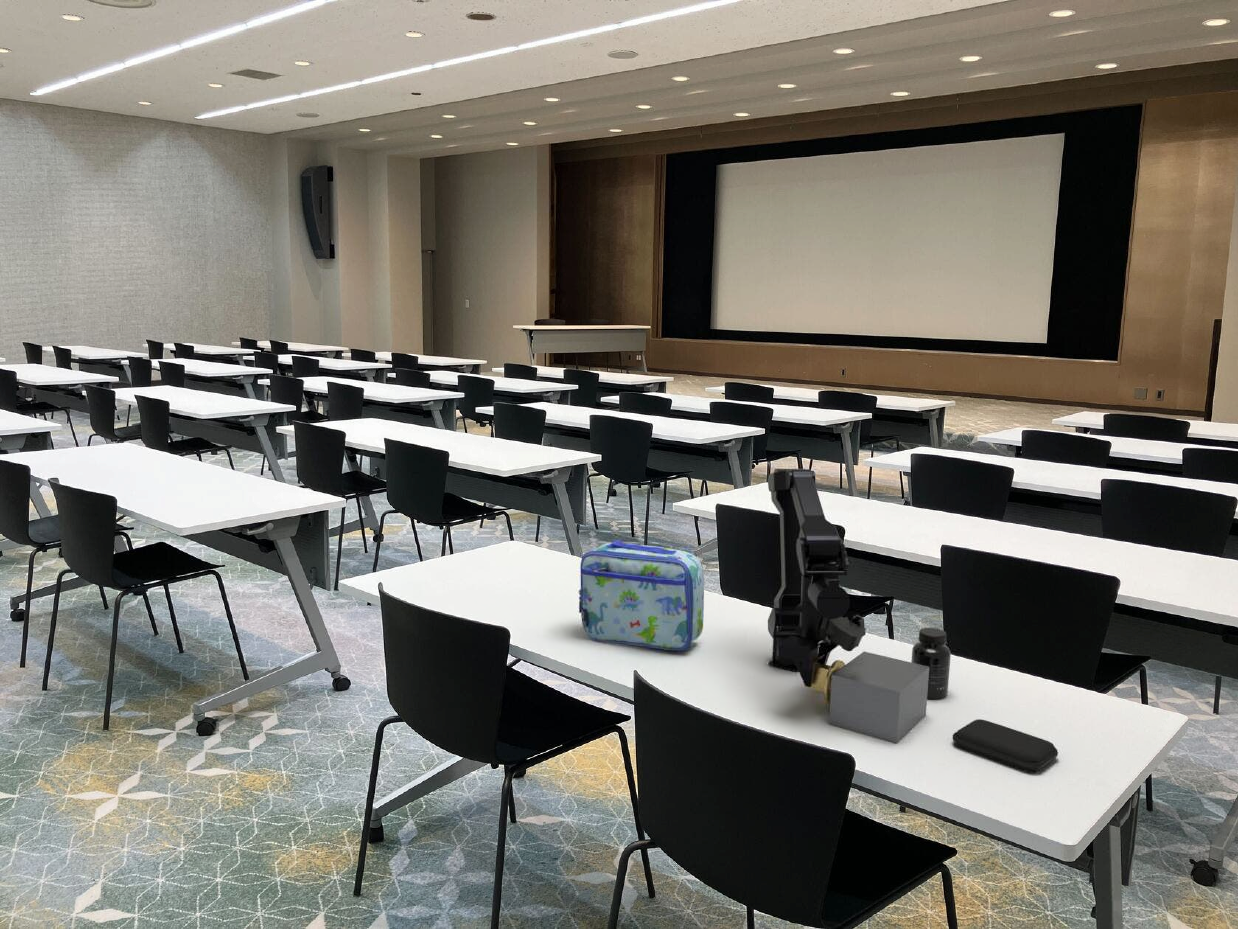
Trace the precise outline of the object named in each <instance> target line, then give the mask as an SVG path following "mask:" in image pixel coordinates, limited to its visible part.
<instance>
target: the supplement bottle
mask: <svg viewBox="0 0 1238 929" xmlns="http://www.w3.org/2000/svg"><path fill="white" fill-rule="evenodd" d="M918 632H919V633H918V642H916V643H915V644H914V645H913V647H912V650H911V661H910V662H911V663H915V664H920V665H924V666H928V667H929V678H928V692H927V700H931V701H932V700H942V699H944V698H946V697H947V695H948V691H949V690H948V689H949V683H950V682H949V680H950V671H951V670H950V668H951V667H950V666H951V656H952V654H951V650H950V648H949V647H948V646H947V645H946V644H947V632H946V631H944V630H943V629H940V628H936V627H922V628H921V629H919V631H918Z"/></svg>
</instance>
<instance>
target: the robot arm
mask: <svg viewBox="0 0 1238 929" xmlns="http://www.w3.org/2000/svg"><path fill="white" fill-rule="evenodd" d="M767 486H768V488H767V489H768V491H769V492H770V496H771V498H770V499H771V502H772V503H773V505H774V507H775V508H776V510H777V511H778V513H779V526H780V527H779V528H780V534H779V535H780V562H781V570H780V572H781V587H780V589H779V591H778V593H777V594H776V596H775V598H774V599H773V600H774V601H773V607H772V608H771V611H770V613H769V616H768V618H767V631H768V633H769V635H770V636H771V638H772V655H771V657H772V658H771V659H770V660H769V661H767V662H768V665H769V666H772V667H777V668H781V669H785V670H788V671H792V672H796V673H797V672H798V673H799V675H800V677H801V680H802V682H803V684H804V686H807V687H811V686H812V682H813V677H814V672H815V666H816V662H817V663H821V664H825V665H827V663H828V660H829V657H830V655H831V653H832V652H833V650H834V649H836V648H838V647H841V648H842V649H843V651H846V652H851V651H853V650H854V649H855V648H858V647H859V645H860V643H861V641H862V639H863V637H864V636H866V627H865V618H864V617H862V616H861V615H859V614H856V615H855V616H854V615H853V617H851V618H850V619H849V617H848V616H846V617H843V616H844V615H845V614H846V613H847V612H848V610H849V608H850V604H851V600H850V595H849V594H848V592H847V591H846V590H845V589H844V587H843V586H842V585H841V584H840V579H839V576H848V568H849V565H850V564H849V558H848V554H847V550H846V545H845V543H844V540H843V538H841V537H840V535H839V532H838V530H837V527H836V525H834V524H833V523H831V522H830V521H829V520H827V519H826V515H825V513H824V509H823V507H822V502H821V499H820V496H819V493H818V490H817V486H816V472H815V471H814V470H811V469H810V468H775V469H774V471H773V472H772V473H770V474H769V475H768V479H767ZM837 562H838V564H837Z"/></svg>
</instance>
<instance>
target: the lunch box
mask: <svg viewBox="0 0 1238 929" xmlns="http://www.w3.org/2000/svg"><path fill="white" fill-rule="evenodd" d="M579 567H580V568H579V569H580V589H579V590H578V594H579V596H578V600H579V602H578V613H579V614H580V615H581V616H580V617H581V622H582V627H583V629H584V631H585V633H586V635H587V637H588V638H589V639H591V640H592V641H594V642H606V643H607V642H608V643H617V644H623V645H624V644H625V645H630V646H638V647H644V648H650V649H652V648H653V649H658V650H665V651H675V652H676V651H677V652H682V651H685V650H687V649H688V648H689V647H690V645H691V644H692V643H693V642H694V641H695V640H697V639H699V637H700V636H701V634H702V633H703V630H704V612H705V611H704V609H705V608H704V607H705V604H704V602H705V601H704V600H705V591H704V590H705V588H704V586H705V572H704V567H703V564H702V563H701V561H700V559H699V558H698V557H697V556H696V555H694V554H692V553H690V552H688V551H684V550H681V549H680V550H679V549H675V548H670V547H662V546H654V545H643V544H633V543H624V542H623V541H621V540H618V539H616V540H615V541H613V542H607V543H604V544H602V545H600V546H598V547H596V548H595V549H593V550H590V551H588V552H585V553H584V554H583V555H582V557H581V560H580V566H579Z"/></svg>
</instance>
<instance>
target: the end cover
mask: <svg viewBox="0 0 1238 929" xmlns="http://www.w3.org/2000/svg"><path fill="white" fill-rule="evenodd" d="M844 665H846V664H845V661H843V660H840V659H836V660H835V661H833V662H832V664H831V665H829V664H826V665H825V664H821V663H817V662H816V666H815V672H814V677H813V682H812V686H811V687H807V686H805V685H804V686H805V688H807V689H810V690H813V691H818V692H822V693H823V699H824V703H825V705H826V706H827V707H828V708H830V698H831V679H832V674H833V673H835V672H836V671H838V670H839V669H840V668H842V667H843V666H844Z"/></svg>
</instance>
